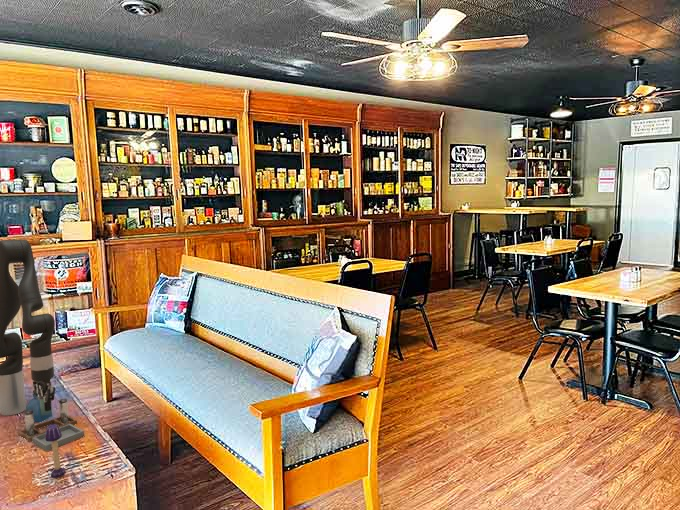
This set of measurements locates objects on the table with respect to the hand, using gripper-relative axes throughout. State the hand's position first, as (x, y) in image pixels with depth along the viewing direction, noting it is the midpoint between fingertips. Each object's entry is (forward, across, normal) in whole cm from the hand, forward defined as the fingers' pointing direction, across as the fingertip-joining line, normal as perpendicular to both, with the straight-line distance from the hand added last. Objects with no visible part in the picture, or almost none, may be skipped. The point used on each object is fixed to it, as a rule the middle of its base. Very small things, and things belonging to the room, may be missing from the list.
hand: (45, 408), depth 196 cm
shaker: (+2, 0, 0) cm, 2 cm away
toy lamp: (+8, +37, -13) cm, 40 cm away
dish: (+8, +12, -1) cm, 15 cm away
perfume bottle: (+9, -12, +3) cm, 15 cm away
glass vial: (+8, 0, -6) cm, 10 cm away
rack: (+8, 0, 0) cm, 8 cm away
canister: (+8, 0, +6) cm, 11 cm away
